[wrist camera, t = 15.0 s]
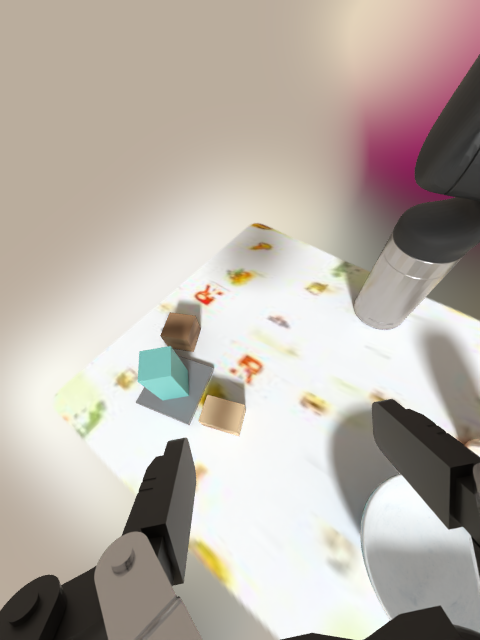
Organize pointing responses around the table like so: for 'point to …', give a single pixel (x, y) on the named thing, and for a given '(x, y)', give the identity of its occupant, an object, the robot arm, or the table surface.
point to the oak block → (222, 415)
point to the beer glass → (474, 446)
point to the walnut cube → (181, 331)
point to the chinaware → (417, 556)
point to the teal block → (163, 373)
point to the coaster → (181, 406)
